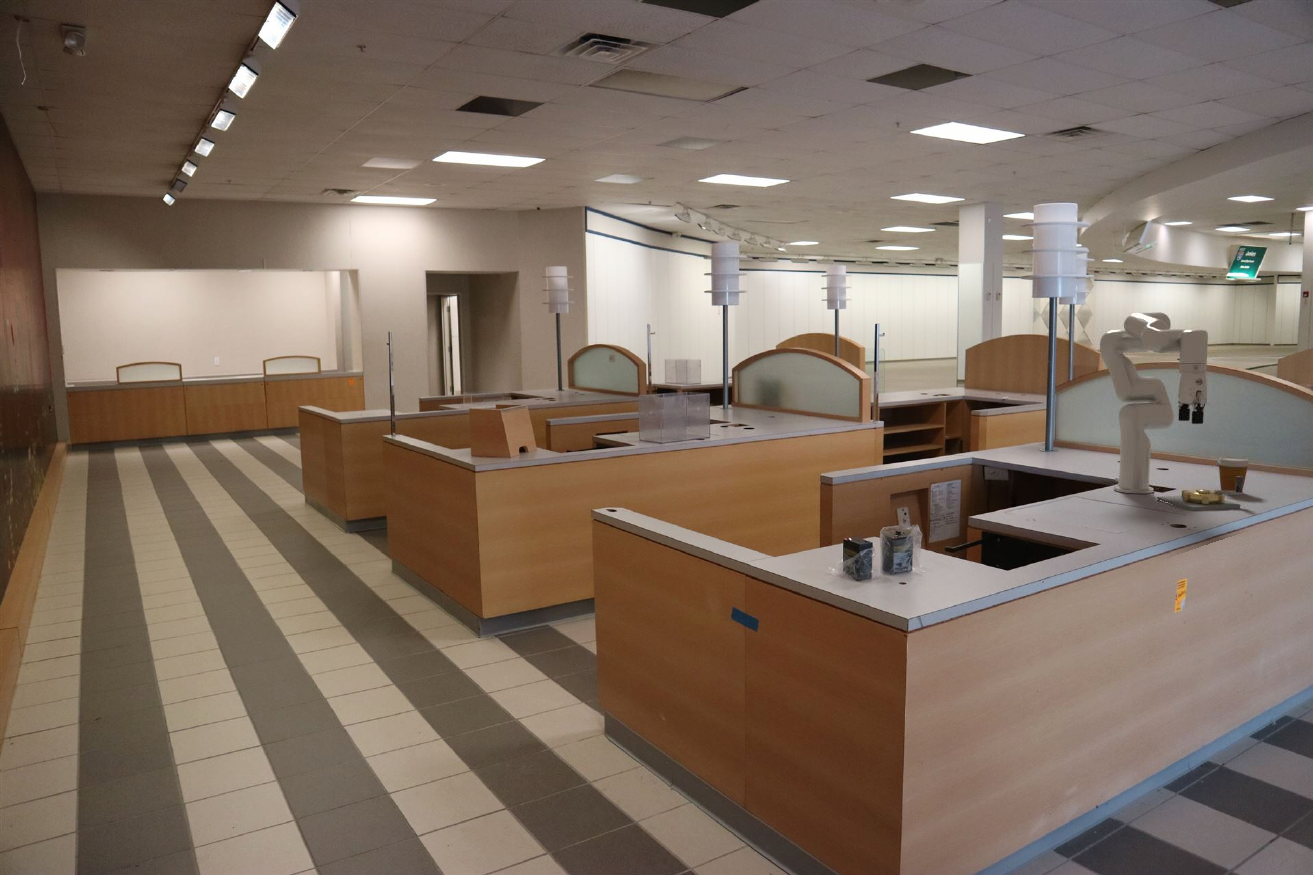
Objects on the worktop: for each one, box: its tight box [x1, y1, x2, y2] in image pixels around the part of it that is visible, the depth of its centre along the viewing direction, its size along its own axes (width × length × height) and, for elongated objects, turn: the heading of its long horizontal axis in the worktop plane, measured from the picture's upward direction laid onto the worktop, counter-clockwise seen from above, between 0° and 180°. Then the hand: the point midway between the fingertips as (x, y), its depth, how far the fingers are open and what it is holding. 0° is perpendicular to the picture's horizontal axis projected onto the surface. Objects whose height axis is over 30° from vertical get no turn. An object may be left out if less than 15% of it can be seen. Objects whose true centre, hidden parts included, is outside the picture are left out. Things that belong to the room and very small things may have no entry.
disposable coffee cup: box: [1217, 456, 1250, 492], centre depth 314 cm, size 10×10×12 cm
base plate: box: [1156, 495, 1241, 512], centre depth 298 cm, size 17×17×1 cm
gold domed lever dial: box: [1181, 476, 1244, 504], centre depth 295 cm, size 17×12×9 cm
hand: (1190, 422), depth 287 cm, fingers open, 9 cm apart
